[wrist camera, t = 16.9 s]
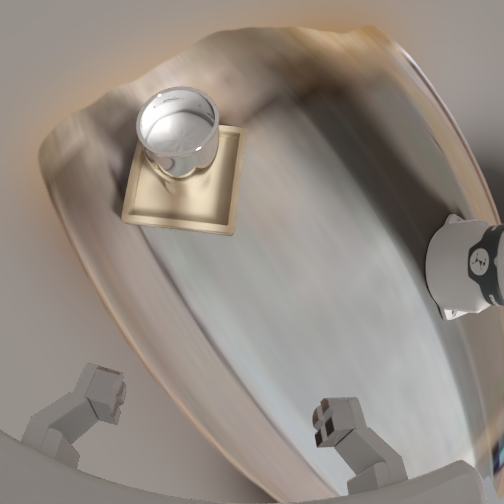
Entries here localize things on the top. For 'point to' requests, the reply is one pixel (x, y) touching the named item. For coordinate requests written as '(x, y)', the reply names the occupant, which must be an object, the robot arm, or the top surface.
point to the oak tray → (195, 210)
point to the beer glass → (180, 139)
